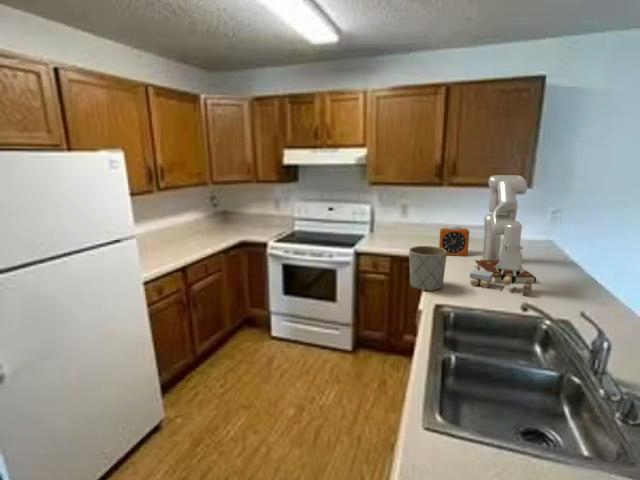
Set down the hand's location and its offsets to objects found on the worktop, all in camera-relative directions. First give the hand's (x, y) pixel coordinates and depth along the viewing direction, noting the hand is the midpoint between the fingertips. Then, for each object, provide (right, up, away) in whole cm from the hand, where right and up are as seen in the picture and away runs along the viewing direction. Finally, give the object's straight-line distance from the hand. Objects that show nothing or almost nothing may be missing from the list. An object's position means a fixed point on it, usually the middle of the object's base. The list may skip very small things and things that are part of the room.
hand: (508, 281), depth 196 cm
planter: (-40, -3, +9) cm, 41 cm away
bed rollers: (-6, -3, +5) cm, 8 cm away
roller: (0, -1, 0) cm, 1 cm away
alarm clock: (-4, +11, +69) cm, 70 cm away
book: (+9, +1, +25) cm, 27 cm away
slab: (-11, +2, +7) cm, 13 cm away
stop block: (+7, -5, -4) cm, 10 cm away
